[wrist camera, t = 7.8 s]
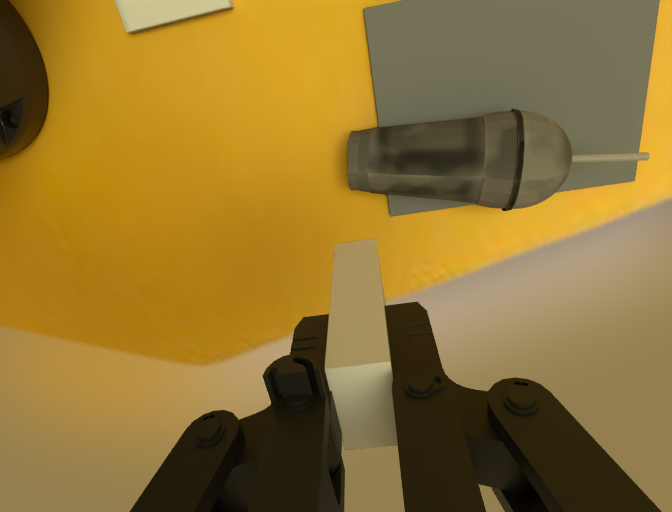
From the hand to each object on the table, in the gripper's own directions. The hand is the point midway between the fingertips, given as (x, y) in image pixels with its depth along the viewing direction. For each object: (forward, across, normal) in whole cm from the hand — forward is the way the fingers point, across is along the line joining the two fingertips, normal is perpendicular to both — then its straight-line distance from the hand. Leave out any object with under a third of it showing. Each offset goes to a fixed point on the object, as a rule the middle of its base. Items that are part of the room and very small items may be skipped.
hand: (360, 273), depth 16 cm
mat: (+21, +12, +2) cm, 25 cm away
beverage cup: (+19, -1, -1) cm, 19 cm away
